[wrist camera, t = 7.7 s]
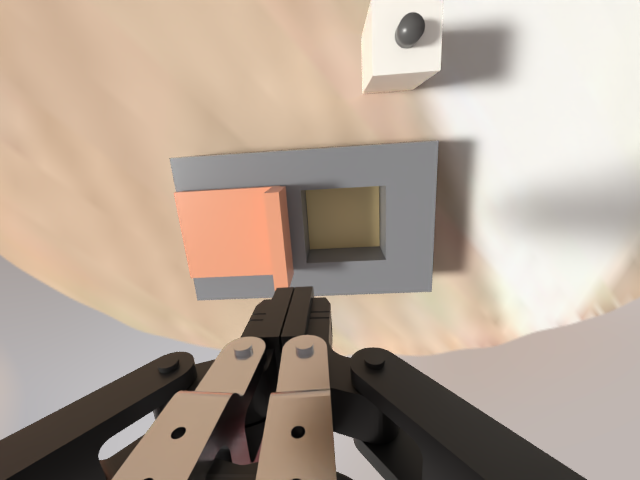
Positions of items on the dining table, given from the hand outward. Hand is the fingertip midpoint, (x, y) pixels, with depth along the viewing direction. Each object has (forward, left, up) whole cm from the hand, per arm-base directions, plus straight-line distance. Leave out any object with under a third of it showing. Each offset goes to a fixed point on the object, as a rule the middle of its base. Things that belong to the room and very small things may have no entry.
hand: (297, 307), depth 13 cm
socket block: (+1, 0, -16) cm, 16 cm away
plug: (-6, -12, -16) cm, 21 cm away
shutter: (+6, 0, -12) cm, 13 cm away
